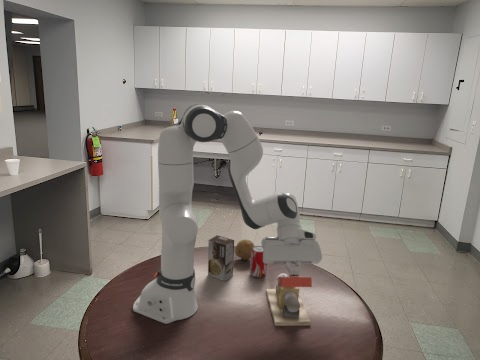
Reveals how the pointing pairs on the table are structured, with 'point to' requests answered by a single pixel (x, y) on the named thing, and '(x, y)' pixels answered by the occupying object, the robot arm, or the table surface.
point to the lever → (294, 282)
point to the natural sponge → (244, 249)
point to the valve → (287, 306)
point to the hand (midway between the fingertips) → (294, 276)
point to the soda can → (257, 262)
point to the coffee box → (220, 257)
